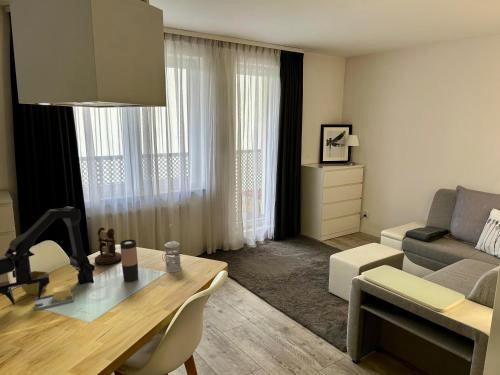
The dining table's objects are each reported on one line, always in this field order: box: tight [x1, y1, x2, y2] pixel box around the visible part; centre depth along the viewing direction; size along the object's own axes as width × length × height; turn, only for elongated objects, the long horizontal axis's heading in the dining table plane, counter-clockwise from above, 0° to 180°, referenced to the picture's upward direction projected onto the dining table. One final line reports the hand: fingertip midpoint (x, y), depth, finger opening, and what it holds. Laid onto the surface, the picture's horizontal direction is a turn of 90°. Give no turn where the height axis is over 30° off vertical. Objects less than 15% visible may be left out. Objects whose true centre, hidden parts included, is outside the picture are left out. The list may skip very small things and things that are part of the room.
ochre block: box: [52, 284, 72, 300], centre depth 158 cm, size 7×5×4 cm
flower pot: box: [21, 270, 50, 296], centre depth 163 cm, size 9×9×9 cm
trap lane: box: [34, 289, 75, 311], centre depth 156 cm, size 15×11×1 cm
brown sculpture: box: [94, 227, 121, 266], centre depth 200 cm, size 15×15×20 cm
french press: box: [161, 224, 183, 273], centre depth 187 cm, size 10×12×25 cm
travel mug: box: [119, 239, 139, 283], centre depth 176 cm, size 8×8×20 cm
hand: (26, 301), depth 152 cm, fingers open, 9 cm apart
